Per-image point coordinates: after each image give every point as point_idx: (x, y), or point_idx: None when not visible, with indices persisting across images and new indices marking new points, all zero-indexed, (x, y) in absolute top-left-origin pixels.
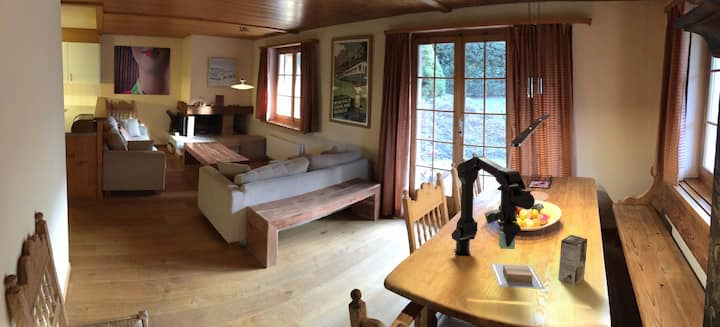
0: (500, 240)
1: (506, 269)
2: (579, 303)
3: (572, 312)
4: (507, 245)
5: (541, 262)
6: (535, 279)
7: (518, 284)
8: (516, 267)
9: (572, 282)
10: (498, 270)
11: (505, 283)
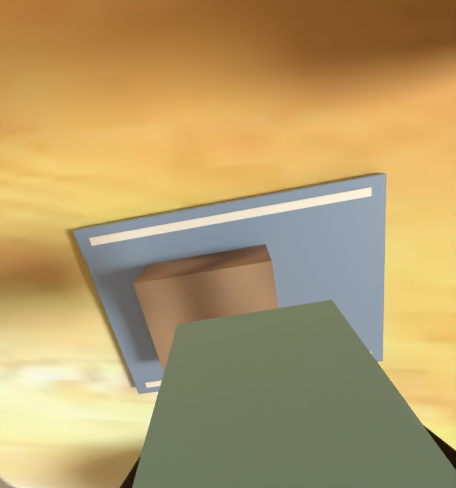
0: (216, 388)
1: (201, 279)
2: (92, 458)
3: (15, 439)
4: None
5: (443, 388)
6: None
7: (138, 310)
8: None
9: None
10: (284, 222)
11: (123, 259)
